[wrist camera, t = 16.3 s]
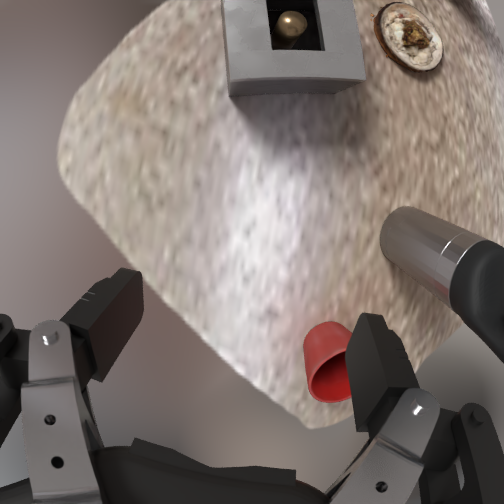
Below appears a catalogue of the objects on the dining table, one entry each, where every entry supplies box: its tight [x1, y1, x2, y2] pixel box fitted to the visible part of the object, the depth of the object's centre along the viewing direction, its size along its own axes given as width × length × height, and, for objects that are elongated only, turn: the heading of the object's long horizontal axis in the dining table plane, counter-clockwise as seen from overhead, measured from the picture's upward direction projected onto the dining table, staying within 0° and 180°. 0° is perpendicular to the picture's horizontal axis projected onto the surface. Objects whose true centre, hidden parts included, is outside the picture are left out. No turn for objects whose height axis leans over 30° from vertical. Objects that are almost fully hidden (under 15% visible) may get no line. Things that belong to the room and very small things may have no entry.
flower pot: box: [303, 322, 352, 403], centre depth 44 cm, size 11×11×10 cm
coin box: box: [221, 0, 366, 97], centre depth 28 cm, size 14×14×10 cm
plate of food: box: [371, 2, 443, 72], centre depth 31 cm, size 15×15×4 cm
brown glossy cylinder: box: [270, 11, 307, 50], centre depth 28 cm, size 3×3×9 cm
